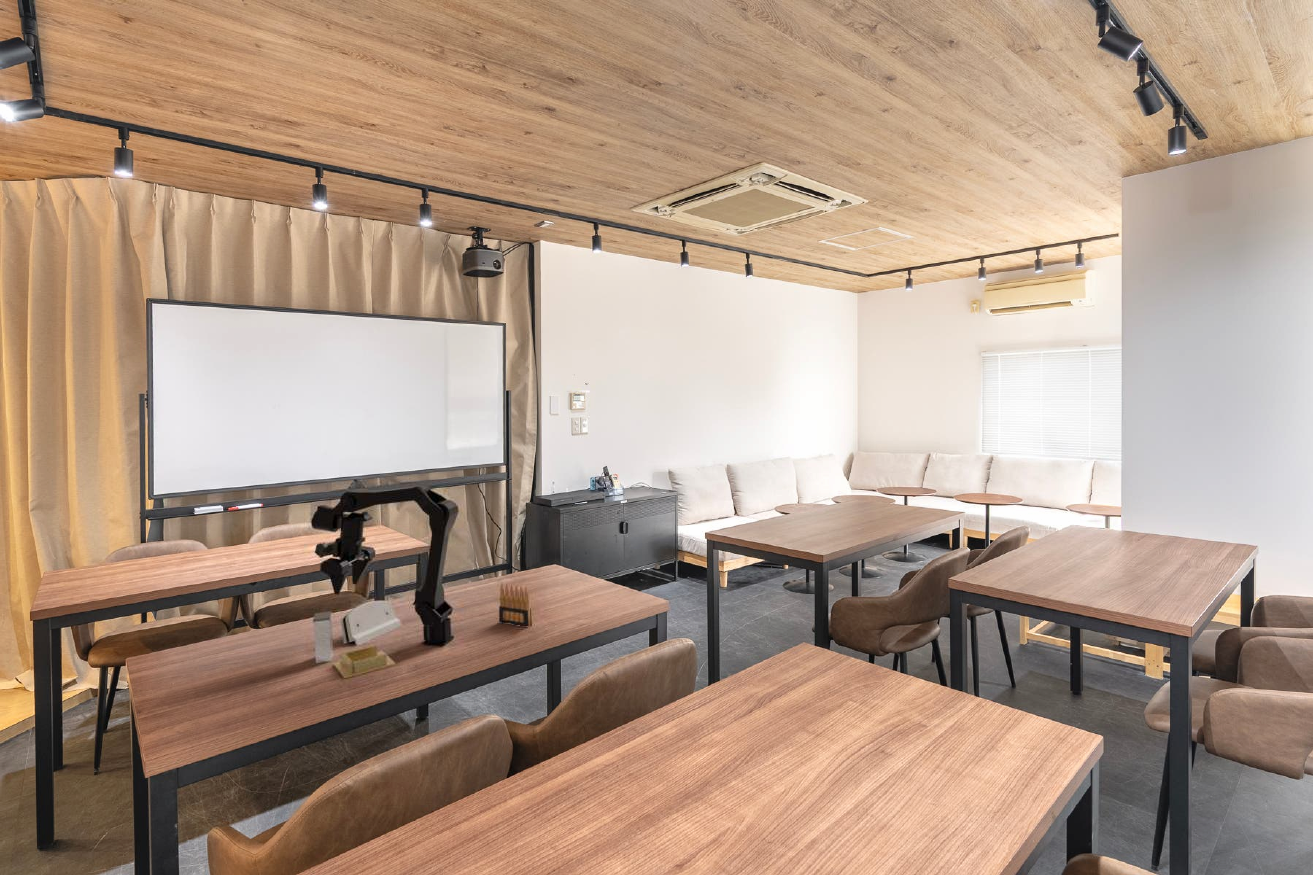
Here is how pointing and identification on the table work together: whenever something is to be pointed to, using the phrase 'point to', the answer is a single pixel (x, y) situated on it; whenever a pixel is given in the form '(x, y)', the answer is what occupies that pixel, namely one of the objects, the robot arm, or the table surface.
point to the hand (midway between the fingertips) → (345, 588)
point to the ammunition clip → (514, 606)
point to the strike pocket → (362, 661)
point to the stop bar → (323, 637)
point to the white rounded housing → (368, 622)
